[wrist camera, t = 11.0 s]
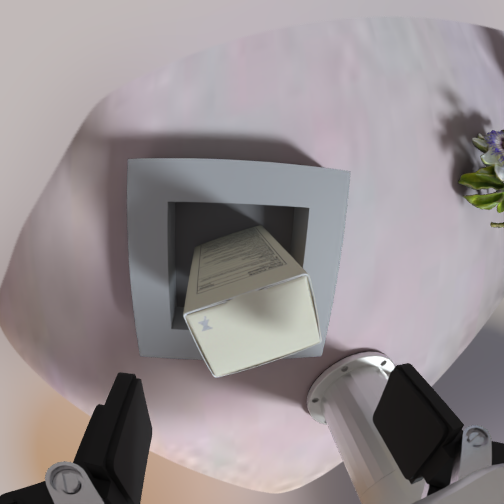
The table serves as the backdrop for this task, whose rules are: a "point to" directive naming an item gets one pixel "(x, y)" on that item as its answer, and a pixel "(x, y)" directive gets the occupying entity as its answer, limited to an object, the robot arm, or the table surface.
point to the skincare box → (248, 302)
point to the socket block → (224, 233)
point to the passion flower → (488, 173)
